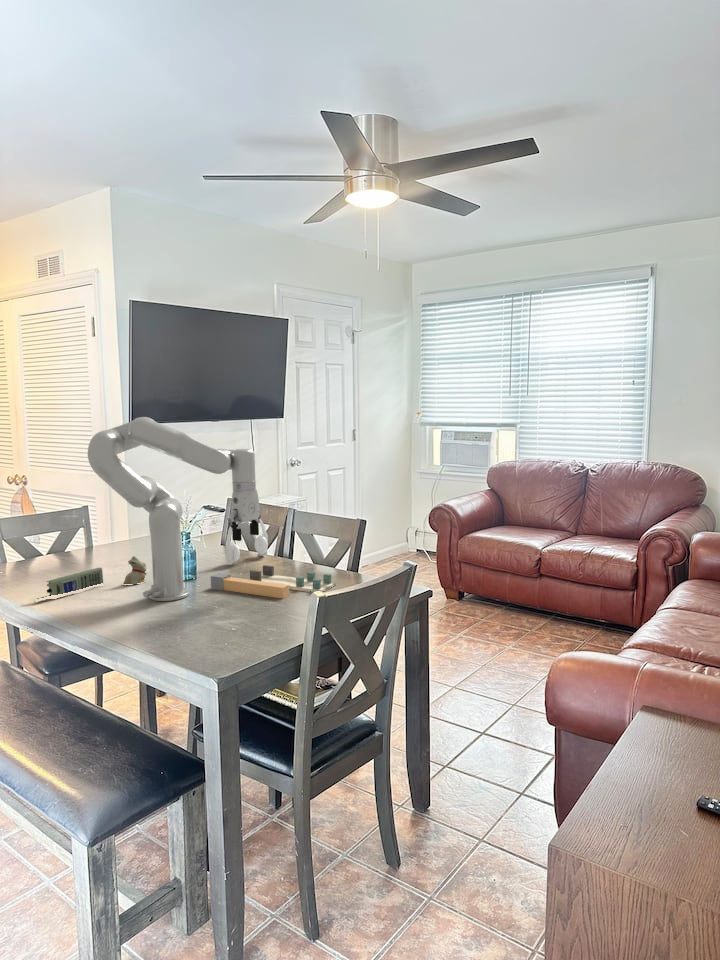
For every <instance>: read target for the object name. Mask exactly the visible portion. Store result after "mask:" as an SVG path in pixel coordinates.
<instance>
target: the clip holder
mask: <svg viewBox="0 0 720 960" xmlns="http://www.w3.org/2000/svg"><path fill="white" fill-rule="evenodd" d="M274 568H275V567H274V565H267V564H264V565H262V571H261V570H249V579H248V580H255V581H263V582H270V583H278V584H285V585H289V590H292V591H293V590H294V591H301V592H307V593H308V592H309V593H314V592H313V591H325V592H327V591H329V590H330V589H332V588H334V587H336V586H337V585H336V584H337V583H336V582H332V574H330V573H323V575H322V578H323V580H322V579H320V578H319V579H317V578H316V573H315V571H306V577H307V578H305V577H302V576H297V577H292V576H285V575H278V574H277V575H276V574H275V569H274ZM335 585H336V586H335ZM333 586H334V587H333ZM331 587H332V588H331ZM328 589H329V590H328ZM310 591H311V592H310Z"/></svg>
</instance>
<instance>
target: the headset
mask: <svg viewBox="0 0 720 960" xmlns="http://www.w3.org/2000/svg"><path fill="white" fill-rule="evenodd" d="M259 521H260V522H259V524H260V527H261V531H262V533H261V535H257V536H256V538H255V540H254V549H255V551H256V552H257V556H261V557H262V556H266V555H268V548H269V547H268V546H269V543H268V542H269V541H268V540H269V539H268V537H269V536H268V533H267V530H266V526H265V524H264V521H263V520H262V519H261V518H260V519H259ZM247 523H251V521H248V522H242V524H247ZM236 524H238V522H236ZM242 524H241V525H242ZM231 536H232V528H231V526H230V525H229V528H228V531H227V534H226V539H225V542H224V543H225V554H226V564H227V565H228V566H230V565H234V562H237V561H238V560H239V559H240V556H241V555H240V554H241V552H240V548H239V546H238V545H237V544H236V543H235V542H231V538H232V537H231Z"/></svg>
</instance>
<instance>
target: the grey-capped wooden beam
mask: <svg viewBox="0 0 720 960" xmlns="http://www.w3.org/2000/svg"><path fill="white" fill-rule="evenodd" d="M231 575H232V574H229V573H222V572H217V573H215V574H213V575H210V589H212V590H219V591H227V592H228V591H229V592H236V593H243V594H250V595H256V596H263V597H269V598H270V597H271V598H277V599H285V598H287V597H290V589H289V585H285V584H278V583H270V582H263V581H255V580H249V579H248V578H241V577H240V578H239V577H234V576H233V577H232V576H231Z"/></svg>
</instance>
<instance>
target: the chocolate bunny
mask: <svg viewBox="0 0 720 960" xmlns="http://www.w3.org/2000/svg"><path fill="white" fill-rule="evenodd" d="M128 565H130V566H131V569H132V570H131V571H130V572H129V573H128V574H127V573H126V576H125V578H124V581H123V584H137V583H141V582H144V581H145V582H146V580H145V578H146V575H147V573H146V571H147V564H146V563H145V562H143V561H141V560H139V558H137V557H136V556H135V555H132V557H131V558H130V559H129V560H128ZM145 582H144V583H145Z"/></svg>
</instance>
